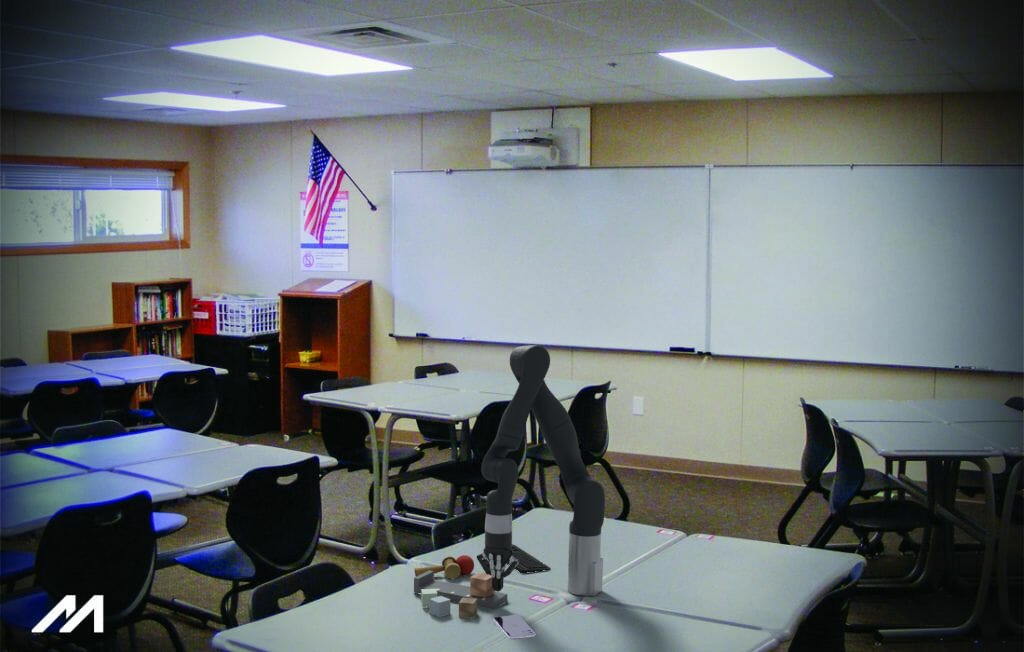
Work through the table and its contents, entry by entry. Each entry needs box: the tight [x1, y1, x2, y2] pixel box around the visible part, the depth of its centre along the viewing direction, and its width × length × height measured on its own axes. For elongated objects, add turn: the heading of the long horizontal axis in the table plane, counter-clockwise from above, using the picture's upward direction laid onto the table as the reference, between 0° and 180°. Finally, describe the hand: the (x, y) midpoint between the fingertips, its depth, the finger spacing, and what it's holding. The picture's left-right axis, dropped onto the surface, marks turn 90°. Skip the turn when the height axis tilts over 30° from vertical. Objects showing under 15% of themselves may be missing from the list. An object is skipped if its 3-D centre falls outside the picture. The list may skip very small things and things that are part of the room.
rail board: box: [413, 570, 508, 610], centre depth 280 cm, size 26×8×4 cm, turn 62°
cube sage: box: [420, 589, 437, 607], centre depth 273 cm, size 4×4×4 cm
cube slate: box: [428, 596, 451, 618], centre depth 267 cm, size 4×4×4 cm
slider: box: [469, 571, 496, 598], centre depth 276 cm, size 5×5×5 cm
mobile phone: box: [492, 614, 537, 640], centre depth 258 cm, size 8×1×15 cm
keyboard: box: [506, 543, 552, 574], centre depth 318 cm, size 30×11×2 cm, turn 24°
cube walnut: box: [458, 598, 478, 619], centre depth 266 cm, size 4×4×4 cm
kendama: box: [414, 554, 475, 579], centre depth 299 cm, size 8×6×18 cm
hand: (497, 590), depth 274 cm, fingers closed
